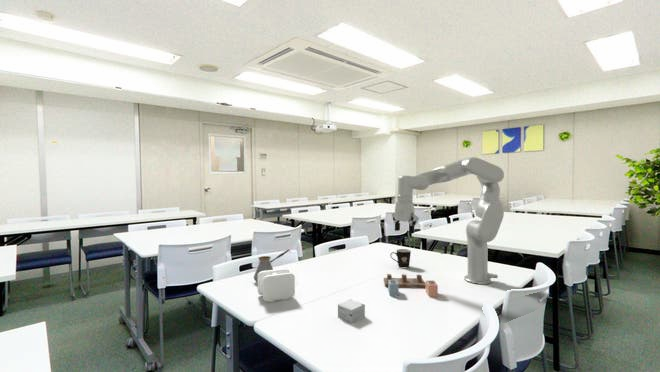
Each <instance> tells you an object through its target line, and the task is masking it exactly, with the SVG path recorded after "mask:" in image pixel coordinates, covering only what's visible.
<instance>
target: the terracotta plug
mask: <svg viewBox="0 0 660 372" xmlns="http://www.w3.org/2000/svg"><path fill="white" fill-rule="evenodd" d="M425 284H426V288H425V293H426V295H427V296H431V297H430V298H438V296H439V294H438V292H439V290H438V288H439V287H438V286H439V285H438V284H437V282H436V281H435V280H428V279H427V280H425ZM433 296H434V297H433ZM436 296H437V297H436Z"/></svg>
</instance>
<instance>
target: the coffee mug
mask: <svg viewBox="0 0 660 372" xmlns="http://www.w3.org/2000/svg"><path fill="white" fill-rule="evenodd" d="M411 252H412V251H411V250H410V249H407V248H398V249H396V252H394V251H393V252H391V253H390V254H389V255H390V258H391V259H392V260H393V261H395V262H396V263H397V267H398V266H399V267H398V268H400V267H409V268H410V262H411V254H412V253H411ZM392 254H395V255H396V257H397V260H396V259H395V258H393V257H392Z"/></svg>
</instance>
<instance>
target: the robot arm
mask: <svg viewBox="0 0 660 372" xmlns="http://www.w3.org/2000/svg"><path fill="white" fill-rule="evenodd" d="M469 175H475V176H476V179H477V180H478V182H479V183H480V185H481V192H480V196H479V199H478V201H477V205H476V206H475V210H474V211H475V215H476V216H477V218H479V219H481V220H476V219H475V220H471V221H469V222H468V223H467V224H466V228H465V234H466V239H467V274H466V275H465V276H464V281H466V280H467V281H466V282H468V281H469V282H468V283H471V282H472V284H475V283H478V284H477V285H489V284H491V283H492V279H498V278H499V277H498V276H499V275H498V274H496V273H495V274H494V273H490V272H489V271H488V267H489V266H488V265H489V263H488V262H489V261H488V258H489V257H488V256H489V254H488V253H489V252H488V251H489V249H488V248H489V246H488V243H490V242H492V241H493V240H495V238H496V237H497V235H498V233H499V231H500V230H499V229H500V227H501V225H502V223H503V219H504V216H505V213H504V212H505V211H504V208H503V206H502V205H501V203H499V199H500V195H501V189H500V185H499V183H500V182H502V181H503V179H504V177H505V173H504V170H503V169H502V168H501V167H500V166H498V165H495V164H493V163H490V162H488V161H486V160H484V159H482V158H478V157H476V156H472V157H466V158H463V159H460V160H457V161H453V162H451V163H449V164H445V165H442V166H439V167H437V168H434V169H432V170H429V171H424V172H422V173H419V174H417V175H399V176H398V179H397V181H398V182H397V196H396V199H397V201H396V203H395V206H394V213H392V214H391V218H392V220H393V223H394V231H395V232H396V231H397V232H399V231H401V223H400V222H405V223H406V222H408V224H409V226H408V233H409V234H415V226H416V225H417V223H418V221H419V217H418V216H417V215H416V214H415V204H414V202H413V192H414V190H418V191H424V190H426V189H428V188H429V186H432V185H436V184H441V183H447V182H452V181H454V180H456V179H460V178H462V177H465V176H469ZM488 283H489V284H488Z"/></svg>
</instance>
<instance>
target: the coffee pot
mask: <svg viewBox="0 0 660 372" xmlns="http://www.w3.org/2000/svg"><path fill="white" fill-rule="evenodd" d="M287 253H290V254H291V253H292V252H291V249H287V250H284V252H282V253H280V254H279V255H277V256H276V257H275V258H273V259H271V258H272V256H267V255H266V256H264V255H263V256H259V257H258V260H259V263H258V265H257V268H256V270H255V273H254V274H253V280H254V281H255V282H258V277H257V275H258V273H259V272H261V271H267V270H274V268H273V266H272V264H271V263H273V262H274V261H275V260H277V259H279V258H281V257H282V256H284V255H285V254H287Z"/></svg>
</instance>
